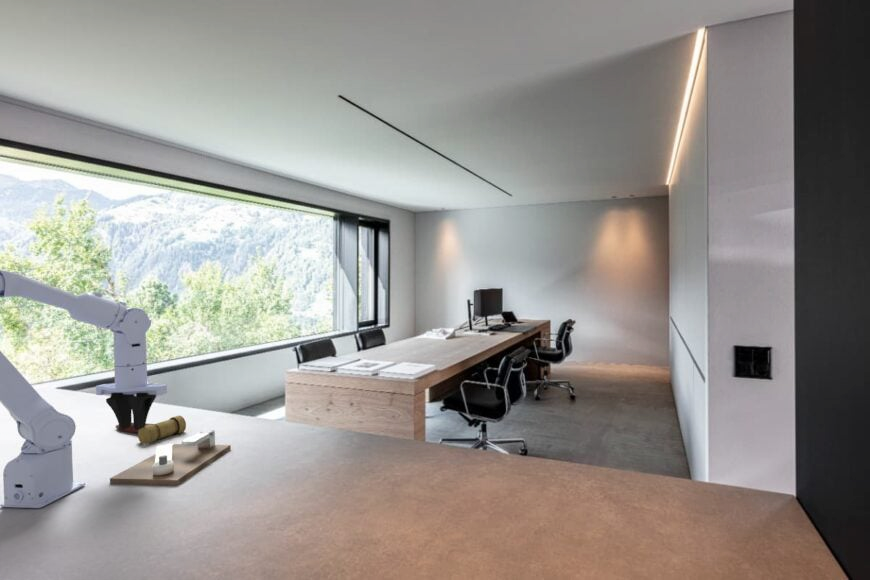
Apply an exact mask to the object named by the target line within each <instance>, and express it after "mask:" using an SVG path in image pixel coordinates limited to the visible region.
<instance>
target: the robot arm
mask: <svg viewBox="0 0 870 580" xmlns="http://www.w3.org/2000/svg"><path fill="white" fill-rule="evenodd" d="M5 297H6V298H7V297H8V298H9V297H21V298H25V299H27V300H31V301H35V302H38V303H41V304H45V305H49V306H53V307H56V308H60V309H64V310H67V312H68V314H69V315H70V317H71V318H72V319H73V320H75V321H78V322H82V323H85V324H88V325H92V326H95V327H98V328H102V329H105V330H110V331H111V332H112V333H113V362H114V364H113V365H114V366H113V367H114V370H113V371H114V383H103V384H99V385H96V386H95V388H96V389H95V390H96V392H95V393H96V396H103V395H110V396H109V397H107V398H106V399H105V401H106V404H107V405H108V406H109V407H110V409H111V410H112V411H113V413H114V415H115V417H116V420H117V422H118V425H119V426H120V429H121V430H124V429H127V428H129V427H131V423H132V422H133V423H134V428H135V430H139V429H142V428H144V427H145V423H146V422H147V419H148V416H149V413H150V409H151V407H152V405H153V403H154V401H155V400H156V398H157V396H163V395H165V394H167V392H168V389H167V387H168V386H167V384H166V383H164V384H163V383H155V382H149V381H148V367H147V366H148V364H147V363H148V361H147V360H148V359H147V340H146V339H147V334H146V333H147V332H148V331H149V329H150V328H151V325H152V320H151V319H150V317H149V315H148V313H146V311H145V310H143V309H142V308H137V307H128V306H127V302H124V301H119V302H118V301H114V300H111V299H109V298H105V297H103V293H101V292H99V291H92V293H91V292H88V291H87V292H82V293H80V294H74V293H71V292H69V291H66V290H63V289H60V288H58V287H54V286H53V285H49V284H47V283H46V282H45V283H44V282H42V281H39V280H36V279H33V278H31V277H29V276H26V275H24V274H20V273H16V272H12V271H10V270H5V269H0V298H5ZM0 403H1V405H2V406H3V407H4V408H5V409H7V411H8V413H9V415H10V416H11V418H12V419H13V420H14V421H15V423H16V426H17V427H16V428H17V432H18V435H19V436H20V437H21V438H22V439H24V440H25V441H24V442H23V444H22V446H21V448H20V453H19V455H18V456H16V457H15V458H13V459H12V460H10V461H8V462H7V463H6V464H5V466H4V469H3V472H2V473H3V475H2V477H3V502H1V503H0V507H1V508H21V509H22V508H24V509H26V508H27V509H40V508H43V507H45V506H48V505H49V504H51V503H53V502H55V501H57V500H59V499H61V498H63V497H64V496H66V495H69V494H70V493H72V492H74V491H76V490H78V489H80V488H82V487H84V486H86V482H85V481H74V470H73V468H74V467H73V436H74V435H75V432H76V427H77V425H76V422H75V420H74V419H73V418H72V417H71V416H70V415H68V414H65V413H62V412H60V411H57V409H56V408H55V407H54V406H53V405H52V404H51V403H50V402H48V401H47V400H46V399H45V398H43V396H42V395H40V393H38V391H37V390H36V389H35V388H34V387H33V385H31V384H30V382H29V381H28V380H27V379H26V378H25V376H23V374H22V373H20V371H19V370H18V369H17V368H16V367H15V365H14V364H13V363H12V362H11V361H10V359H8V358H7V356H6V355H5V354H4V353H3V352H2V351H1V350H0ZM132 418H133V419H132ZM132 420H133V421H132Z"/></svg>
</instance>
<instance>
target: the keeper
mask: <svg viewBox="0 0 870 580" xmlns="http://www.w3.org/2000/svg"><path fill="white" fill-rule="evenodd" d="M215 432H216V430H215V429H214V430H213V429H202V430H200V431H198V432H197V433H195V434H193V435H190V436H189V437H187V438H185V439H183V440H182V441H181V444H182V446H196V445H197V444H198V448H202V449H210V448H212V447H214V446H215V445H216V436H215V435H216V433H215Z"/></svg>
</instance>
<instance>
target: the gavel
mask: <svg viewBox="0 0 870 580" xmlns="http://www.w3.org/2000/svg"><path fill="white" fill-rule="evenodd" d="M186 428H187V423H186V419H185V418H184V417H183V416H182V415H176V416H172V417H171V418H169V419H167V420H164V421H160V422H157V423H145V427H144V428H142V429H139V430H135V428H134V422H131V427H129V428H127V429H124V430H121V429H120V426H119V424H116V425H115V429H116V430H118V431H120V432H121V433H122V432H124V433H130V434H131V433H133V434H137V437H138V440H139V442H140V444H143V445H149V444H152V443H156V441H157V440H161V439H163V438H166V437H170V436H173V435H174V433H175V435H179V434H181V432H182V433H184V432H185V430H186ZM178 433H179V434H178Z"/></svg>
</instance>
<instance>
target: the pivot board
mask: <svg viewBox="0 0 870 580" xmlns="http://www.w3.org/2000/svg"><path fill="white" fill-rule="evenodd" d="M172 449H173V453H172V461H173V462H174V470H173V471H172V472H170V473H168V474H164V475H153V464H155V457H156V453H155V454H153V455H151V456H149V457H147V458H146V459H144V460H142V461H140V462H137V463H136V464H133V466H130V467H129V468H126V469H125V470H123V471H121V472H119V473H117V474H116V475H114V476H112V477H109V484H112V485H113V484H114V485H115V484H116V485H118V484H119V485H120V484H121V485H153V486H157V485H158V486H179V485H180V484H182V483H183V482H184V481H186V480H187V479H189V478H191V477H192V476H193V475H196V473H198V472H199V471H201V470H202V469H203V468H206V467H207V466H208V465H210V464H211V463H213V462H214V461H216V460H217V459H218V458H220V457H222V456H223V455H225V454H226V453H227V452H229V451H231V444H215V446H214V447H212V448H210V449H202V448H198V444H197V445H196V446H182V443H172Z"/></svg>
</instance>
